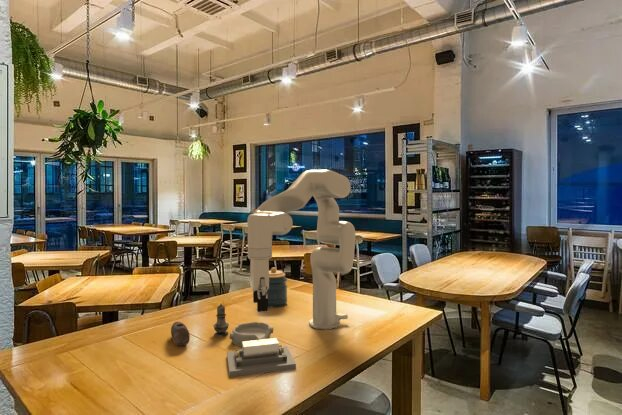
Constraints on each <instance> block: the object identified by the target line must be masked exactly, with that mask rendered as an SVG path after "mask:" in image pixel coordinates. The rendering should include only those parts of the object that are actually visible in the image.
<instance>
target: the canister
mask: <svg viewBox="0 0 622 415" xmlns="http://www.w3.org/2000/svg"><path fill="white" fill-rule="evenodd" d="M287 281H288V278H287V277H286V273H285V272H283V271H282V270H277V267H271V268H270V270H269V289H268V290H267V296H268V308H279V307H280V308H281V307H283V306H285V305H287V302H288V289H287V288H288V285H287Z"/></svg>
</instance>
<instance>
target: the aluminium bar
mask: <svg viewBox="0 0 622 415" xmlns="http://www.w3.org/2000/svg"><path fill="white" fill-rule="evenodd" d="M279 346H280V343H279V341H278V339H277V337H273V338H272V337H271V338H270V339H261V340H252V341H243V342H242V347H241V350H242V358H243V360H244V359H253V358H262V357H271V356H279Z"/></svg>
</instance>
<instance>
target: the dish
mask: <svg viewBox="0 0 622 415" xmlns="http://www.w3.org/2000/svg"><path fill="white" fill-rule="evenodd" d="M273 333H274V326H270V324H268V323H265V322H262V321H261V322H260V321H259V322H257V321H252V322H244V323H239V324H238V325H237V326H234V327H233V329H232V332H230V333H229V339H230V340H231V342H232V345H235V346H237V347H240V348H242V342H243V341H252V340H261V339H270V337H271V334H273Z"/></svg>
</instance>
